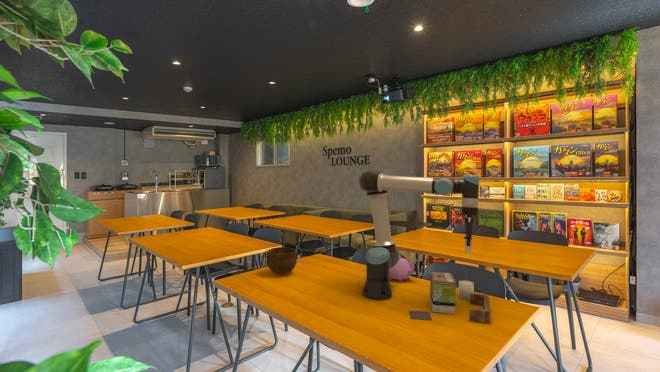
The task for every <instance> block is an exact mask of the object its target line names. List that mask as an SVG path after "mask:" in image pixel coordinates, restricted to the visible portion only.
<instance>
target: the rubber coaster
mask: <svg viewBox="0 0 660 372" xmlns="http://www.w3.org/2000/svg"><path fill="white" fill-rule="evenodd" d="M408 313H409V317H410V320H419V321H433V319H432V315H431V313H430V311H427V310H414V309H413V310H410V309H409V310H408Z"/></svg>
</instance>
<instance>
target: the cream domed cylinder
mask: <svg viewBox="0 0 660 372" xmlns="http://www.w3.org/2000/svg"><path fill="white" fill-rule="evenodd" d="M474 285H475V283H474V282H473V281H470V280H458V299H459V300H461V301H465V300H466V301H465V302H470V293H475V291H474V289H475V286H474Z"/></svg>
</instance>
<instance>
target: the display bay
mask: <svg viewBox="0 0 660 372" xmlns="http://www.w3.org/2000/svg"><path fill="white" fill-rule="evenodd" d="M473 304H474V305H476V306H482V307H483V309H481V308H480V309H478V308H473V307H472V308H471V307H469V314H468V318H469V319H468V321H469V322H475V323H480V324H491V307H490V298H489V295H488V294H487V295H486V294H482V293H475V292H474V293H470V301H469V305H473Z"/></svg>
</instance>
